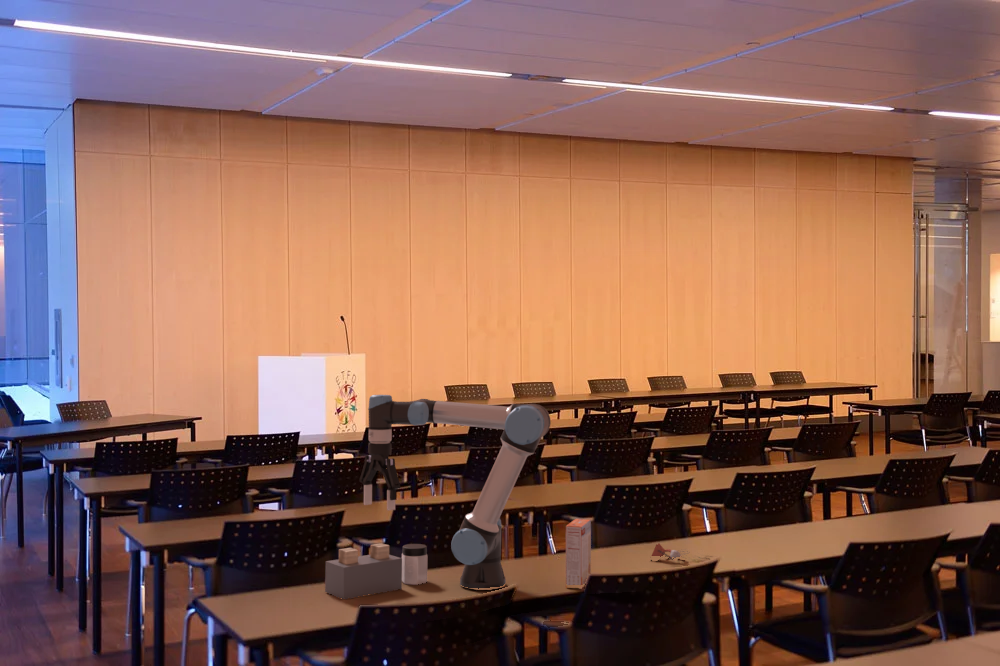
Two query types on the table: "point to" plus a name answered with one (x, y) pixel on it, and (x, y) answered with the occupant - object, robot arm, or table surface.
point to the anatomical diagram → (661, 551)
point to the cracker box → (578, 551)
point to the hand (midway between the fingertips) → (379, 507)
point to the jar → (414, 564)
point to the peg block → (363, 576)
